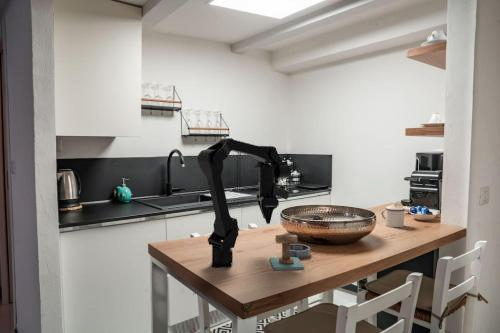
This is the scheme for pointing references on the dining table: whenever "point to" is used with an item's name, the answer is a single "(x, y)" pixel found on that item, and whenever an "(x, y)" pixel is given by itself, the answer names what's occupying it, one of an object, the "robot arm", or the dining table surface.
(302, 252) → the ring socket
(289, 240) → the t key
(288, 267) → the rubber mat
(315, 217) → the lighter
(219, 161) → the robot arm
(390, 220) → the teacup with lid
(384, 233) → the dining table surface
